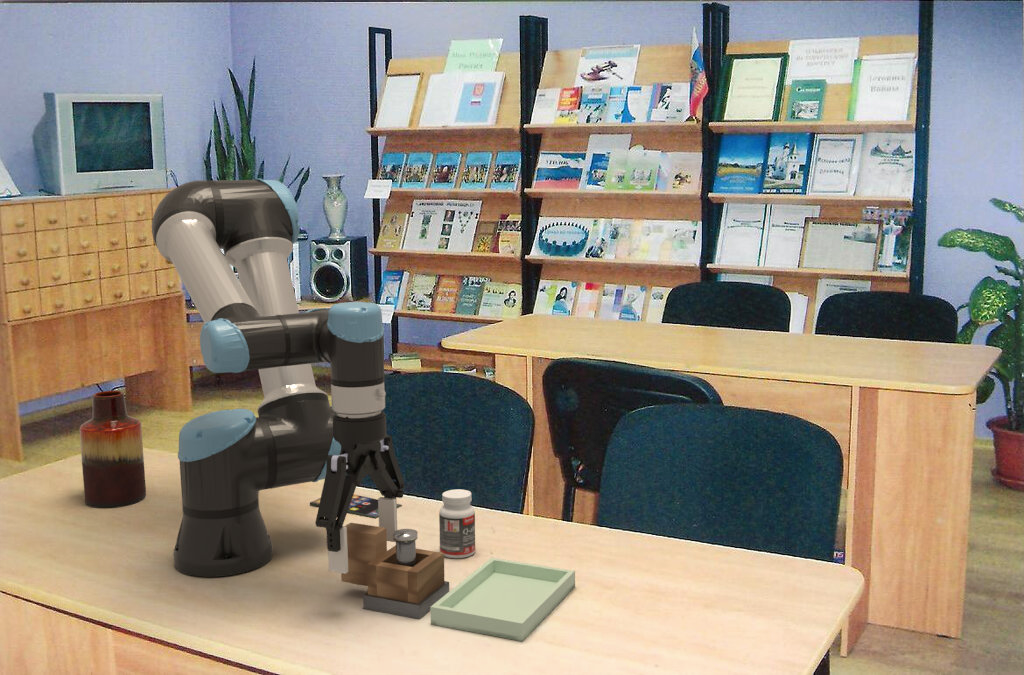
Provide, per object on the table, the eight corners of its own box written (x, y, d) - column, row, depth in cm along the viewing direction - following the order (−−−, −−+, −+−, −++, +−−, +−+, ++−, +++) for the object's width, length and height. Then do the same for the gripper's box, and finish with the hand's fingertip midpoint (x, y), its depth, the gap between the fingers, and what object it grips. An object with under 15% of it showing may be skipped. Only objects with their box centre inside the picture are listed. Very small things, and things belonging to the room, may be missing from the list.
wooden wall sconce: (444, 582, 154) (443, 529, 153) (417, 603, 147) (416, 548, 145) (361, 568, 160) (360, 517, 158) (331, 587, 152) (329, 534, 151)
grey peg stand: (363, 608, 150) (361, 538, 148) (395, 585, 158) (393, 519, 156) (419, 619, 146) (417, 547, 145) (449, 594, 155) (448, 527, 153)
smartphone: (375, 521, 188) (375, 514, 188) (309, 508, 195) (309, 501, 195) (402, 508, 195) (401, 502, 195) (337, 496, 202) (337, 490, 202)
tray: (430, 624, 145) (430, 606, 144) (491, 573, 162) (491, 557, 162) (522, 641, 139) (522, 623, 139) (575, 586, 157) (575, 570, 157)
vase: (103, 489, 206) (96, 386, 203) (156, 491, 205) (149, 387, 201) (73, 507, 195) (65, 399, 192) (128, 509, 194) (121, 400, 191)
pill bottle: (470, 560, 168) (469, 500, 166) (435, 558, 169) (434, 498, 167) (478, 547, 173) (478, 489, 172) (445, 545, 174) (444, 487, 173)
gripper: (332, 434, 138) (339, 590, 141) (424, 396, 160) (428, 531, 164) (284, 429, 141) (292, 582, 144) (381, 393, 163) (386, 525, 167)
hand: (364, 555), depth 154 cm, fingers open, 13 cm apart
